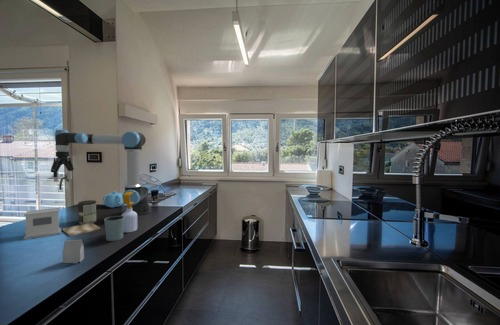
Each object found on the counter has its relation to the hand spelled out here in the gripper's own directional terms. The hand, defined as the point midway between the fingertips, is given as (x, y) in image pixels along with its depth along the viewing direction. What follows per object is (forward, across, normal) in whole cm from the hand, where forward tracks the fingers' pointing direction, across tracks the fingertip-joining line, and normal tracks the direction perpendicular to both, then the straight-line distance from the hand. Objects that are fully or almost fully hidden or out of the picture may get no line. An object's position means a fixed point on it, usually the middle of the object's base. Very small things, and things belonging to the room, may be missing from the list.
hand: (63, 180), depth 168 cm
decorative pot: (+28, -36, +19) cm, 49 cm away
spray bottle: (+29, +28, +57) cm, 70 cm away
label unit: (+28, +33, +10) cm, 44 cm away
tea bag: (+29, +69, +49) cm, 90 cm away
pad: (+28, +26, +27) cm, 47 cm away
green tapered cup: (+29, +41, +54) cm, 74 cm away
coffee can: (+28, +8, +21) cm, 36 cm away
